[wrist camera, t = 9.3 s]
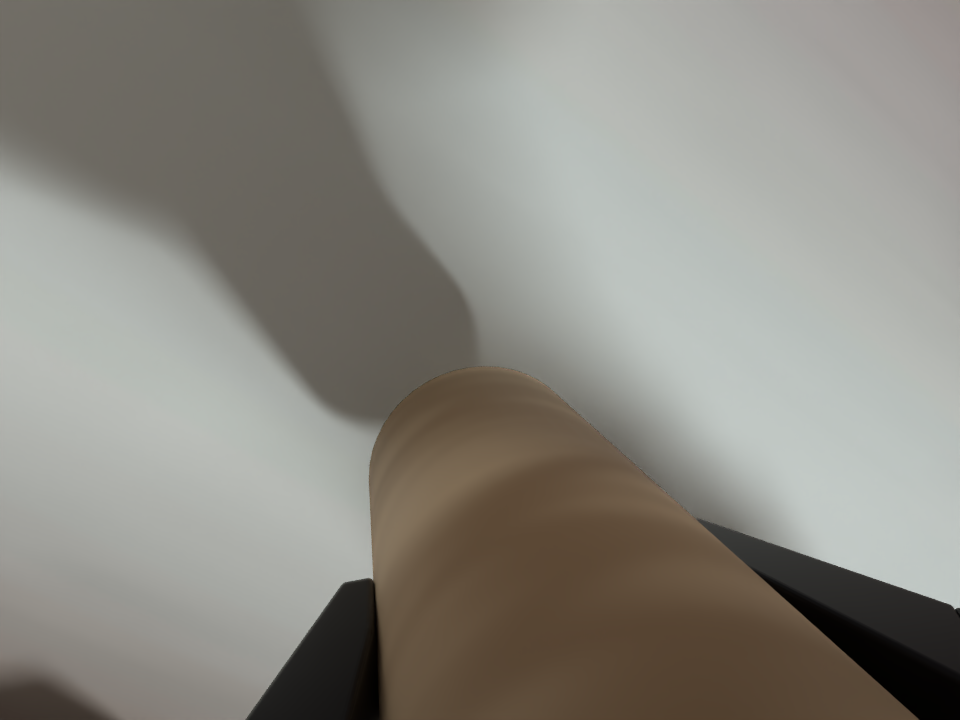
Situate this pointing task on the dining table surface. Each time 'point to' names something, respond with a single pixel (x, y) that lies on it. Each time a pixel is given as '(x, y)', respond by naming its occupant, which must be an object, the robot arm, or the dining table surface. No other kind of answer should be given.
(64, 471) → the dining table surface
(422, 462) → the dowel
